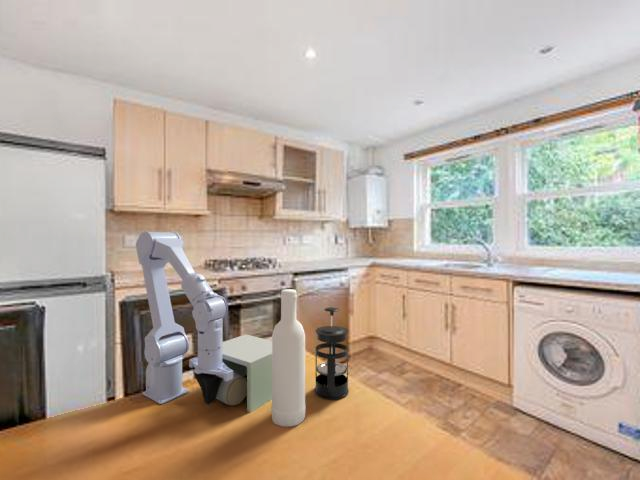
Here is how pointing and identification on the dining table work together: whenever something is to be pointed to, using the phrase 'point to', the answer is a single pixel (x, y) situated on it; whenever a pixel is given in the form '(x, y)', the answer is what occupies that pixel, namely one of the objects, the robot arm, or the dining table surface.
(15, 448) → the dining table surface
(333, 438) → the dining table surface
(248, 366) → the counter shelf
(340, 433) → the dining table surface
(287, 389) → the bottle
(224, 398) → the ceramic mug
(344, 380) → the french press
